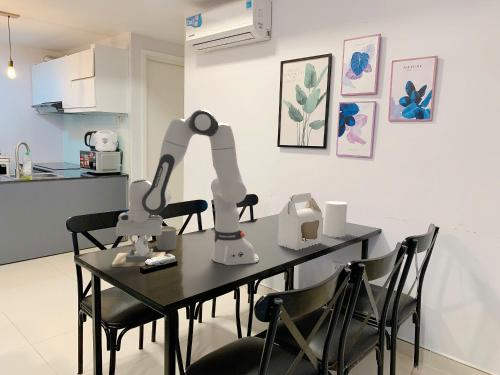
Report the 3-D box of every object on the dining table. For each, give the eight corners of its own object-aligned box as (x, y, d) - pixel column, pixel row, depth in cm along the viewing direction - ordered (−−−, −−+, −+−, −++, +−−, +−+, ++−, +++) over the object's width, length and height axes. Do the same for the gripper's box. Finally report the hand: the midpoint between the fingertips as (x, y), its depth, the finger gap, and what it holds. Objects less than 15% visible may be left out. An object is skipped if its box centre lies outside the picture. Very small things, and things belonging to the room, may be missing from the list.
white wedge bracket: (155, 244, 178) (144, 233, 173) (145, 262, 172) (133, 251, 167) (149, 245, 180) (138, 233, 175) (139, 262, 174) (127, 251, 169)
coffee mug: (179, 248, 194) (179, 229, 192) (161, 251, 188) (161, 232, 186) (168, 242, 204) (168, 224, 203) (150, 245, 198) (150, 226, 197)
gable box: (302, 238, 220) (304, 191, 216) (321, 243, 211) (323, 193, 207) (277, 245, 205) (279, 194, 201) (296, 250, 195) (298, 197, 192)
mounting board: (165, 254, 183) (165, 251, 183) (163, 265, 168) (163, 262, 168) (118, 255, 180) (118, 252, 180) (111, 266, 164) (111, 264, 164)
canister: (348, 234, 231) (351, 202, 229) (338, 238, 221) (340, 205, 218) (329, 230, 240) (331, 199, 237) (318, 234, 230) (320, 202, 227)
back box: (153, 253, 180) (153, 248, 180) (150, 261, 169) (150, 256, 168) (130, 254, 178) (130, 249, 178) (126, 262, 167) (125, 256, 167)
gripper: (163, 213, 176) (163, 242, 178) (117, 213, 172) (117, 243, 174) (162, 216, 169) (162, 246, 171) (114, 216, 166) (115, 247, 168)
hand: (139, 244), depth 173 cm, fingers open, 4 cm apart
